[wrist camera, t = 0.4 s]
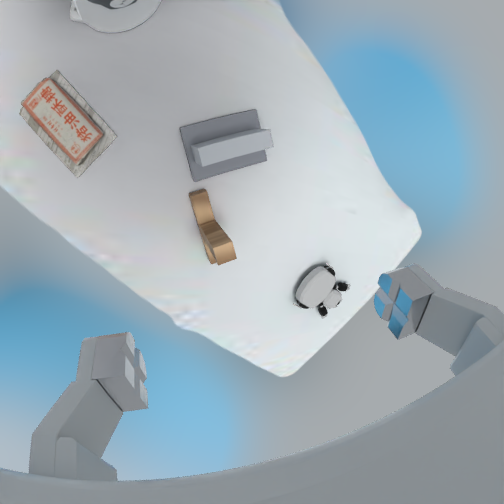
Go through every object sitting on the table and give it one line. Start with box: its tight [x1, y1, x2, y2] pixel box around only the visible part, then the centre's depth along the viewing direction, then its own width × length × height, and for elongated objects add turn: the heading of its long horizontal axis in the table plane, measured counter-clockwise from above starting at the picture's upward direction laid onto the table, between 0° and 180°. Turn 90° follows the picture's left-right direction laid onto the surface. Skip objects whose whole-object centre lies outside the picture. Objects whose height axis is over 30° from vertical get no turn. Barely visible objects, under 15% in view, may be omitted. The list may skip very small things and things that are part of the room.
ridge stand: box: [180, 110, 274, 182], centre depth 48 cm, size 10×14×8 cm
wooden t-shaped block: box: [189, 189, 237, 265], centre depth 51 cm, size 14×3×14 cm, turn 12°
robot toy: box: [293, 263, 350, 318], centre depth 71 cm, size 12×4×15 cm
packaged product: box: [19, 70, 117, 178], centre depth 38 cm, size 18×5×10 cm
